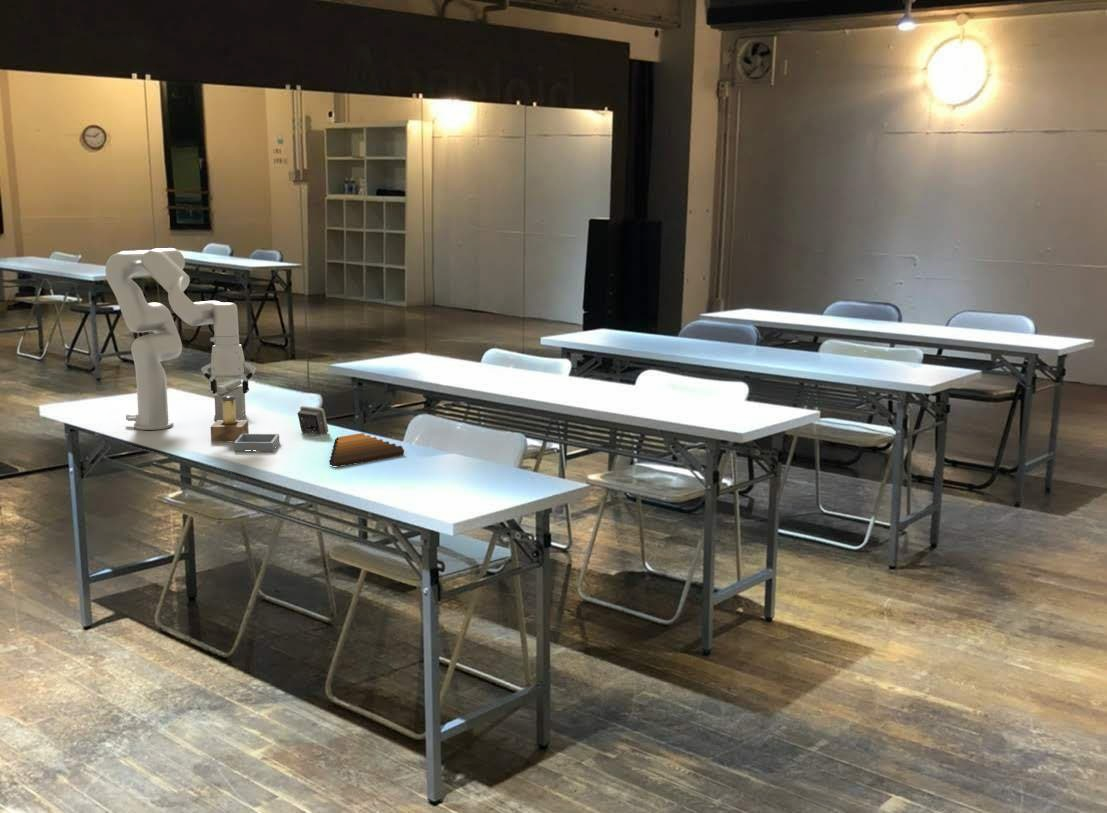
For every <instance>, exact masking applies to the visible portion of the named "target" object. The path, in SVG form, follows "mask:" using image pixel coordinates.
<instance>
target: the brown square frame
mask: <svg viewBox="0 0 1107 813" xmlns="http://www.w3.org/2000/svg"><path fill="white" fill-rule="evenodd" d="M249 430H250V429H249V420H247V419H237V420H236V425H223V420H217V421H216V422H215V421H214V423H213V424H211V426H210V442H211V441H235V440H236V439H237V438H238V437H239V436H240V435H241V434H250V433H249Z"/></svg>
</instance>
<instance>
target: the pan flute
mask: <svg viewBox="0 0 1107 813" xmlns="http://www.w3.org/2000/svg"><path fill="white" fill-rule="evenodd" d="M404 454H405V449H404V448H403V446H402V445H396V443H390V441H384V440H383V439H382V438H379V439H378V438H377V437H376V436H374V437H371V435H370V434H367V435H365V433H364V432H361V433H355V434H350V435H341V436H337V437H336V438H335V439H334V442H333V446H332V449H331V453H330V455H331V456H329V458H330V459H329V462H328V463H329V466H330V465H332V466H341V465H347V466H350V465H349V464H352V465H355V464H354V463H358V464H362V463H361V462H363V463H368V461H369V462H374V461H378V460H379V459H380V460H384V459H390V458H395V457H401V456H404ZM373 460H374V461H373ZM341 467H342V466H341Z"/></svg>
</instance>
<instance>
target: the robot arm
mask: <svg viewBox="0 0 1107 813" xmlns="http://www.w3.org/2000/svg"><path fill="white" fill-rule="evenodd" d="M185 265H186V260H185V257H184V255H183V254H182V252H181V251H179V250H178V249H177V248H173V247H168V248H153V249H150V250H135V251H134V250H129V251H127V250H126V251H120V252H116V253H113V254H112V255H111V256H110V257H109V258H108V259H107V261H106V264H105V278H106V280H107V283H108V285H109V287H110V288H111V290H112V292H113V294H114V295H115V298H116V301H117V304H118V306H119V309H120V312H121V314H122V316H123V320H124V322H125V325H126V327H127V328H128V330H129V331H130V332H133V333H137V334H139V333H147V332H149V333H150V332H152V334H145V335H142V336H141V335H140V336H139V337H137V338H136V339H135V340H133V342H132V343H131V349H130V350H131V355H132V359H133V363H134V369H135V379H136V380H135V381H136V395H137V397H136V398H137V413H135V414H126V415H125V420H126V421H127V422H132V421H133V422H134V424H133V427H134V429H136V430H139V431H140V430H143V431H159V430H165V429H170V428H172V427H173V426H174V421H173V420H169V409H168V405H169V404H168V387H167V386H168V385H167V375H166V371H165V369H164V367H163V365H162V364H161V362H164V361H165V362H166V361H170V360H174V359H177V358H178V357H179V356H180V355H181V354H182V350H183V344H182V340H181V336H180V334H179V331H178V328H177V327H176V324H175V321H174V318H173V315H172V314H171V311H170V310H169V308H168V307H167V306H165V305H164V304H163V303H161V302H147V300H146V297H145V296H144V292H143V290H142V289H141V287H140V286H139V285H138V284H137V283H136V281H134V280H133V279H132V278H133V277H146V276H151V277H152V278H153V279H154V280H155V281H156V282H157V283H158V284H159V285H160V286H161V287H162V288H163V289H164V290H165V292H167V293H168V294H167V296H168V298H167V299H168V302H169V303H168V304H169V306H170V307H171V310H172V311H173V312H174V313H175V314H176V316H178V318H180V320H182V322H185V323H186V324H187V325H188V326H192V327H199V326H205V325H206V326H207V325H213V332H214V336H212V337H210V340H209V341H210V342H211V343H212V342H213V343H214V345H212V347H211V360H210V363H208V364H206V365H204V366H203V367H201V368H200V371H201V372H202V374H203V375H204V377H205V378H206V379H207V380H208V381H209V382H210V391H212V394H214V395H216V392H217V387H218V384H217V380H216V378H217V377H240V378H241V379H242V381H241V383H242V384H241V386H243V393H245V394H247V393H248V392H247V390H248V387H249V380H250V379H251V378H252V377H253V375H254V374H255V372H256V370H257V368H256V366H255V365H252V364H250V363H248V362H246V360H245V354H244V351H243V347H242V346H243V345H242V344H240V335H239V315H238V306H237V304H236V303H234V302H222V301H218V300H205V301H195V302H194V301H192V300H191V299H190V298H189V297H188V296H187V295H186V294H185V293H184V292H185V290H186V289H187V288H188V287H189V284H190V282H191V280H190V278H191V277H190V276H189V275H188V274H187V273H186V272H185V271H184V268H185ZM246 368H247V369H249V370H250V371H249V373H248V374H246V373H245V372H246ZM209 369H210V370H211V373H209V371H208V370H209ZM246 392H247V393H246Z"/></svg>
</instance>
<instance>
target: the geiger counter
mask: <svg viewBox="0 0 1107 813" xmlns="http://www.w3.org/2000/svg"><path fill="white" fill-rule="evenodd" d="M249 391H250V386H248V390H247V392H246V393H243V386H242V380H241V379H239V378H236V379H235V380H232V381H230V382H227V383H225V384H223V385H221V384H220V385H217V392H216V393H215V394H214V414H215V415H214V418H213V421H214V423H215V422H216V421H217V420H223V402H222V397H223V396H235V409H236V419H237V420H239V419H240V417H241V416H243V415H244V416H246V415H245V414H246V394H247V393H249ZM244 416H243V417H244ZM238 418H239V419H238ZM241 418H242V417H241Z"/></svg>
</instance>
